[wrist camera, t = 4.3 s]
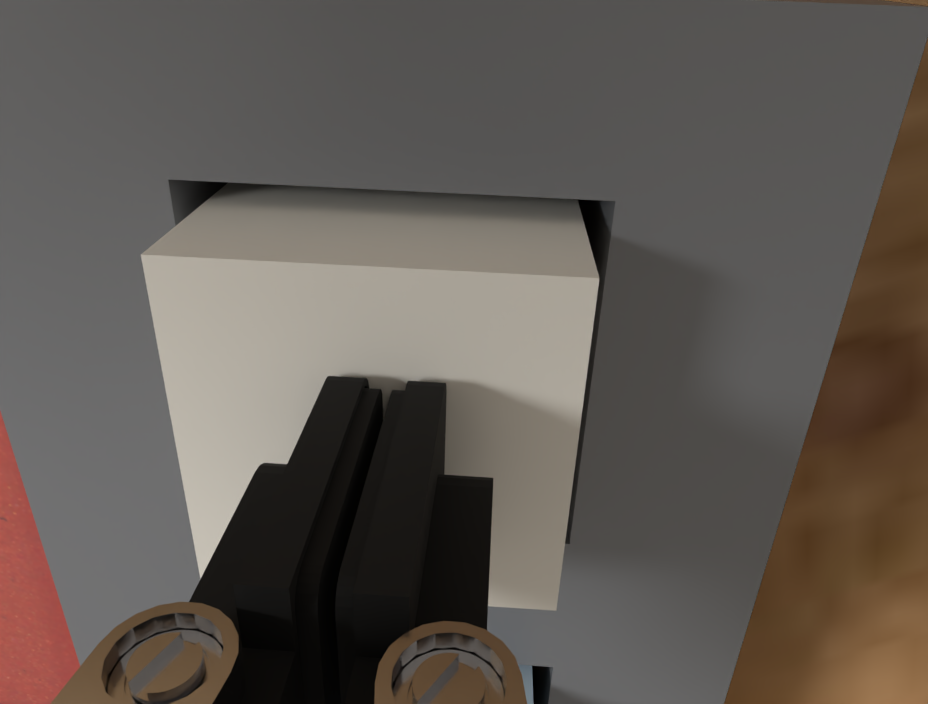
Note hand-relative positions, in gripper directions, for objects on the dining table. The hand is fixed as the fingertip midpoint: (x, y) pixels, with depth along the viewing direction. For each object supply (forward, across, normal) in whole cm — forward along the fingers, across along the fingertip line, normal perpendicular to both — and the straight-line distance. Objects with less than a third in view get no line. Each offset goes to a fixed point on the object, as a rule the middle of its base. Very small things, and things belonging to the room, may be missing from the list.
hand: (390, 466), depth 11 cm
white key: (+5, 0, 0) cm, 5 cm away
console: (+7, 0, +5) cm, 9 cm away
